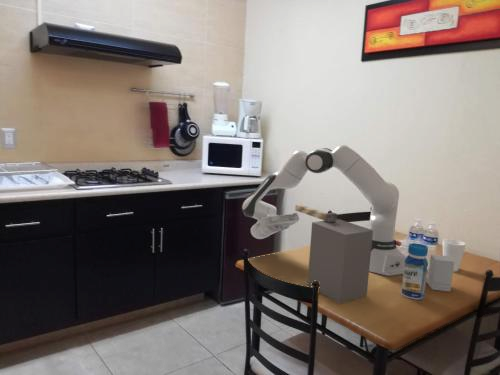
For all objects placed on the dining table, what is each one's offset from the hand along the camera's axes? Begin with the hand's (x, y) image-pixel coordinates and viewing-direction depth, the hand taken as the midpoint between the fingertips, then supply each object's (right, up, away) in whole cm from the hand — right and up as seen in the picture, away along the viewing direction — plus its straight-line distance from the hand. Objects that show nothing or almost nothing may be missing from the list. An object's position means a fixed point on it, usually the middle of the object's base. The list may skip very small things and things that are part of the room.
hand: (287, 215), depth 177 cm
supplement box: (+60, -28, -16) cm, 69 cm away
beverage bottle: (+46, -29, -26) cm, 60 cm away
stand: (+16, -28, -24) cm, 40 cm away
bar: (+9, +1, -15) cm, 18 cm away
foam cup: (+76, -25, +5) cm, 80 cm away
